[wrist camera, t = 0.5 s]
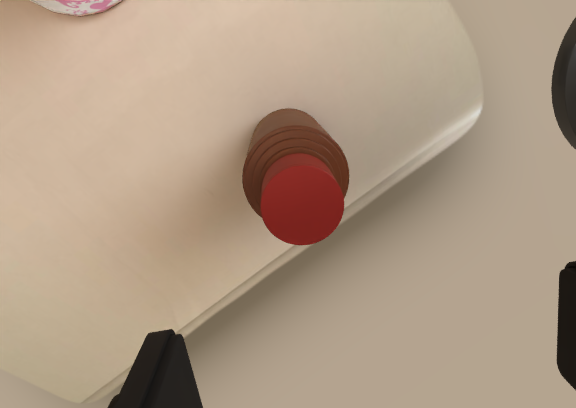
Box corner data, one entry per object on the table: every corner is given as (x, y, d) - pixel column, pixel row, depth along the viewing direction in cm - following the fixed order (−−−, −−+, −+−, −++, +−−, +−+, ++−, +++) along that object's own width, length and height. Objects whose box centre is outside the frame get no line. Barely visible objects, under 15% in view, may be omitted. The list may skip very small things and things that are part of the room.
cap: (329, 146, 23) (338, 157, 20) (340, 216, 24) (351, 236, 21) (255, 160, 23) (252, 174, 20) (269, 229, 24) (269, 252, 21)
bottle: (318, 101, 36) (358, 126, 20) (330, 174, 38) (375, 251, 21) (244, 116, 36) (221, 152, 20) (259, 188, 38) (251, 274, 22)
